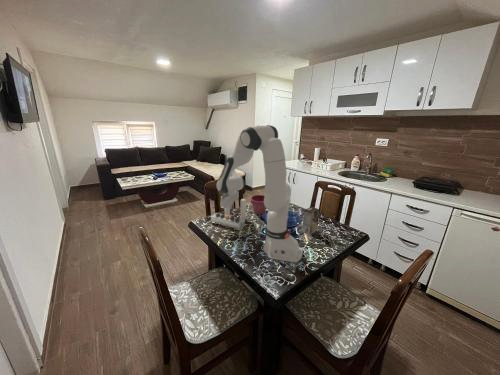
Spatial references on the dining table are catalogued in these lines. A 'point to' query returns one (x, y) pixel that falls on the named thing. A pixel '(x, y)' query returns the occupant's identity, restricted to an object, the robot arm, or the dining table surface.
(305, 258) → the dining table surface
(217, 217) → the grey tube rack
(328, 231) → the dining table surface
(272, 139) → the robot arm
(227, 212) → the cord post far
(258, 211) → the plant pot
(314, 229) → the coffee box
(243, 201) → the cord post near
